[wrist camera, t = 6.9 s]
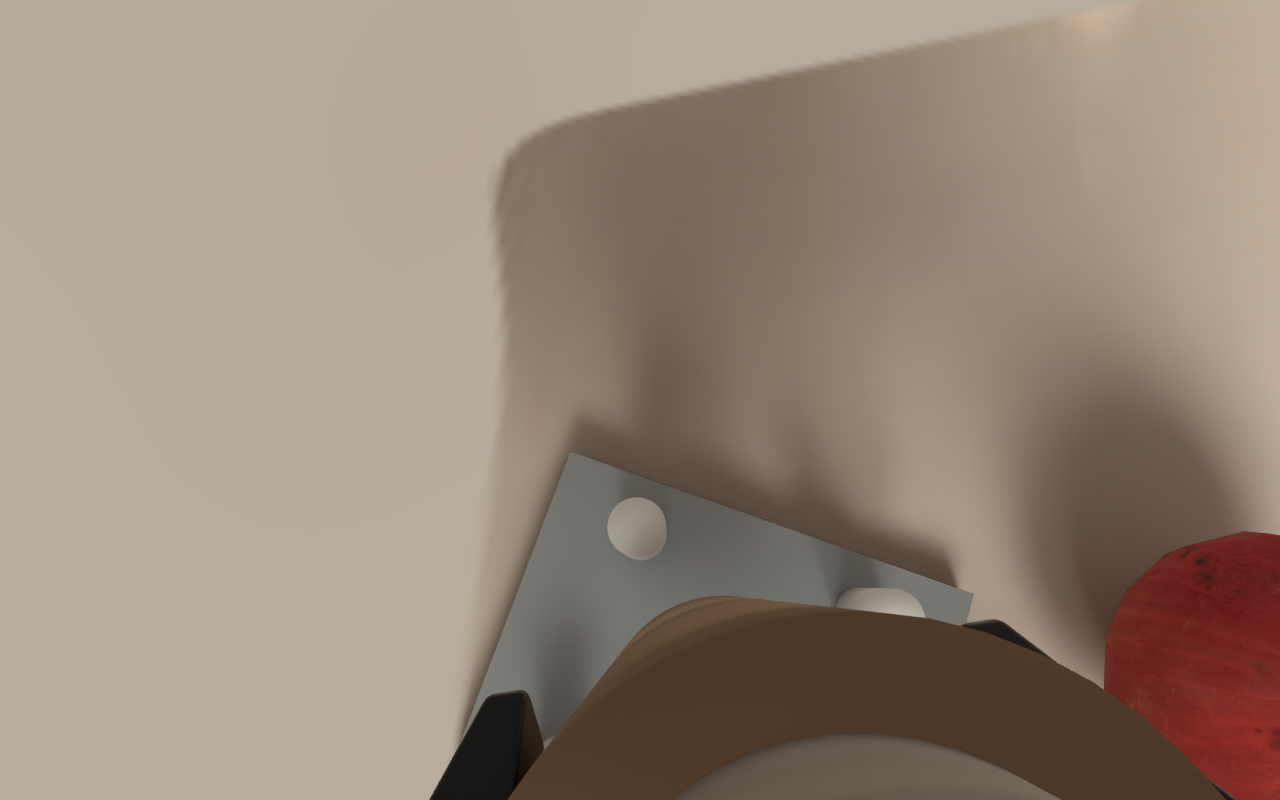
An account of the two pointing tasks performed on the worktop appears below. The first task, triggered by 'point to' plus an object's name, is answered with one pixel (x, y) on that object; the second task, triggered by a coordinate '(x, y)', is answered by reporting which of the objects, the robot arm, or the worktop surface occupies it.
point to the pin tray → (665, 580)
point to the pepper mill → (847, 716)
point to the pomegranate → (1207, 658)
